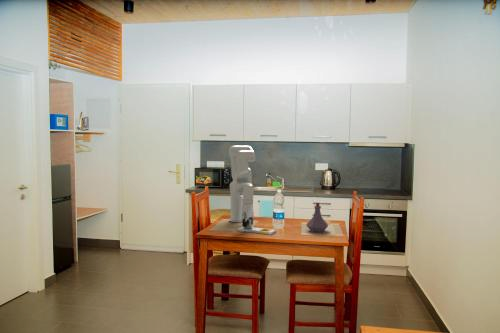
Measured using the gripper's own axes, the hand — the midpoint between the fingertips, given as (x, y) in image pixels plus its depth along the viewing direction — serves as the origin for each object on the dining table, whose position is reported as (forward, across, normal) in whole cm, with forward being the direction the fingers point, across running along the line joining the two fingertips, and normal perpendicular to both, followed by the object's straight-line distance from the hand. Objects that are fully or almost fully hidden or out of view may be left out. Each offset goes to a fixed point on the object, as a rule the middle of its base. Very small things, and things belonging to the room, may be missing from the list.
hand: (247, 225), depth 281 cm
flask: (+4, -23, +44) cm, 50 cm away
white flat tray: (+3, 0, +7) cm, 8 cm away
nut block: (+3, 0, 0) cm, 3 cm away
